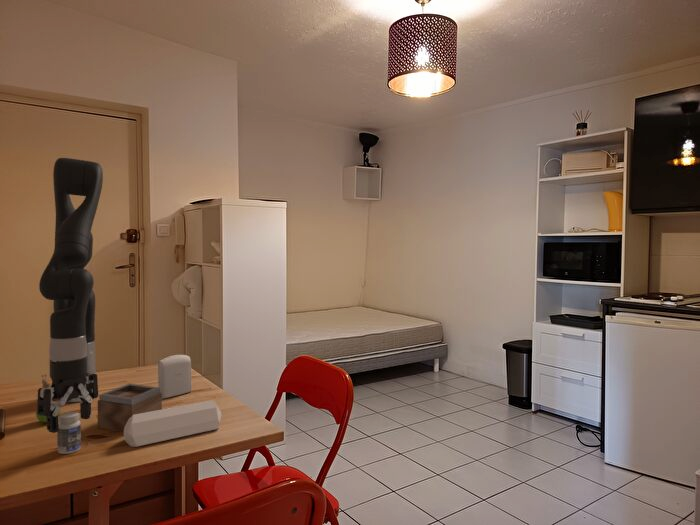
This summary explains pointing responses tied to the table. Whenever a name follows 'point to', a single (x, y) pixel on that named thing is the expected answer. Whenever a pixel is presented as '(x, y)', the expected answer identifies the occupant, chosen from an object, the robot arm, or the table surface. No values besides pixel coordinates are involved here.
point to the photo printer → (174, 375)
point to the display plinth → (126, 404)
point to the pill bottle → (69, 433)
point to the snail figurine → (44, 418)
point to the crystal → (171, 423)
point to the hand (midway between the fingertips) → (69, 425)
